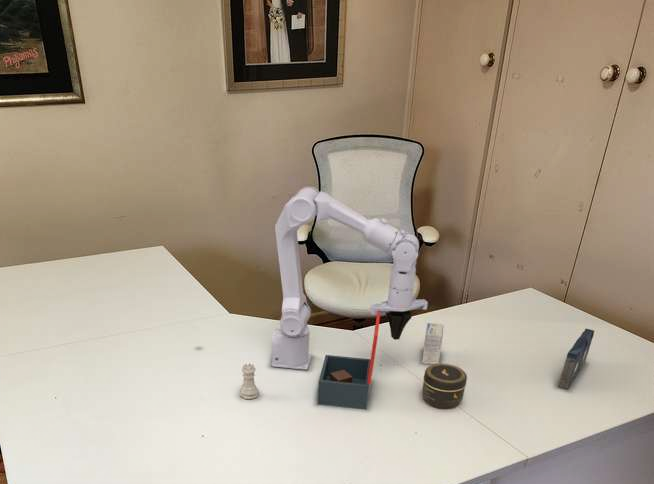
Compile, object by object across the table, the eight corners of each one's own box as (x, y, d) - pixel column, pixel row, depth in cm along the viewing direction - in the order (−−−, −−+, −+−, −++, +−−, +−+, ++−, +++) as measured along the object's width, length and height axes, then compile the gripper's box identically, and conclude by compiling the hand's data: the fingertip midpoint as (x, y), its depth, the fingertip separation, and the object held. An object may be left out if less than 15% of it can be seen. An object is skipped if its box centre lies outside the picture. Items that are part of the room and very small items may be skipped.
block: (337, 394, 149) (338, 380, 147) (329, 387, 152) (329, 373, 150) (351, 391, 151) (352, 376, 149) (342, 383, 154) (343, 369, 152)
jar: (437, 415, 145) (442, 386, 141) (412, 394, 152) (416, 367, 148) (470, 405, 149) (476, 378, 145) (444, 386, 156) (449, 359, 152)
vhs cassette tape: (575, 360, 171) (585, 327, 166) (586, 364, 170) (597, 330, 164) (555, 386, 158) (565, 351, 153) (567, 390, 157) (578, 355, 152)
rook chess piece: (261, 392, 150) (261, 363, 146) (253, 401, 147) (253, 372, 142) (244, 389, 152) (243, 360, 147) (236, 398, 148) (235, 368, 144)
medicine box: (438, 365, 166) (443, 336, 161) (421, 363, 166) (425, 334, 162) (439, 352, 172) (443, 323, 168) (423, 350, 173) (427, 322, 168)
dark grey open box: (317, 404, 147) (318, 381, 144) (324, 376, 158) (325, 354, 155) (366, 409, 146) (368, 386, 142) (369, 381, 157) (371, 359, 154)
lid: (374, 335, 136) (377, 336, 135) (377, 311, 147) (380, 311, 147) (367, 384, 142) (370, 385, 142) (370, 357, 154) (373, 357, 154)
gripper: (420, 277, 153) (413, 328, 160) (366, 282, 149) (362, 334, 156) (434, 288, 148) (426, 339, 155) (379, 293, 143) (373, 346, 151)
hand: (395, 337), depth 155 cm, fingers closed
